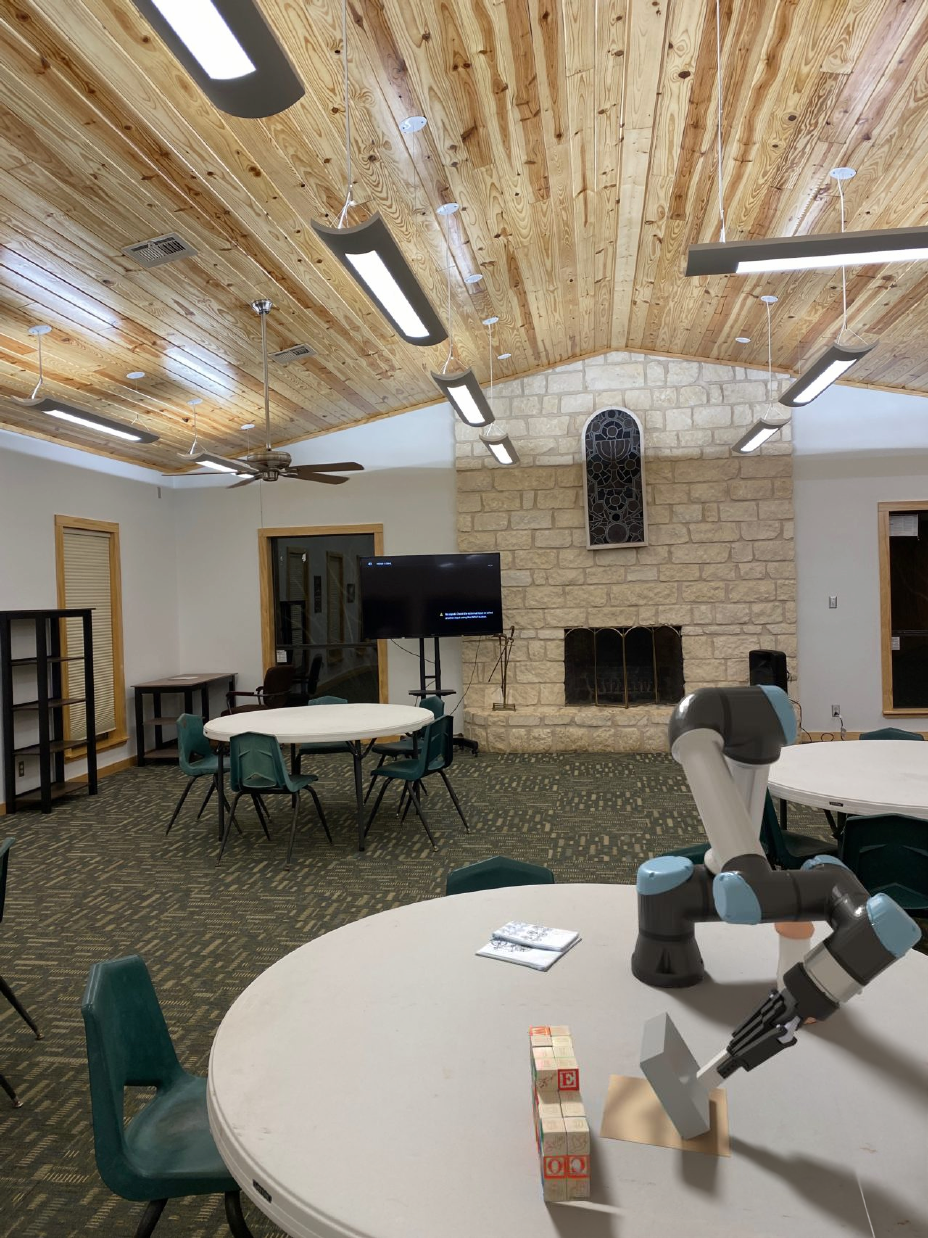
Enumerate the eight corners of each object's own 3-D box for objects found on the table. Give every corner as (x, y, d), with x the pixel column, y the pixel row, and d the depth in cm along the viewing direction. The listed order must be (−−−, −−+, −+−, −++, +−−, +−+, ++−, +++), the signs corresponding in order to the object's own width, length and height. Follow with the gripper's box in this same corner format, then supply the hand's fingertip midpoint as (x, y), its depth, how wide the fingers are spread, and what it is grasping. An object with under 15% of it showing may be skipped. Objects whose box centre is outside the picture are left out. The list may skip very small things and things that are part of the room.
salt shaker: (818, 1008, 150) (815, 908, 150) (817, 1027, 143) (814, 922, 143) (777, 1002, 153) (774, 903, 153) (774, 1019, 146) (771, 916, 146)
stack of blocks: (591, 1203, 102) (588, 1108, 102) (543, 1204, 102) (540, 1109, 102) (571, 1102, 124) (568, 1023, 124) (531, 1103, 124) (528, 1024, 124)
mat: (726, 1093, 124) (725, 1089, 124) (730, 1161, 109) (729, 1157, 109) (611, 1078, 130) (610, 1074, 130) (599, 1140, 114) (599, 1136, 114)
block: (708, 1082, 123) (666, 1011, 125) (709, 1130, 112) (663, 1052, 113) (683, 1092, 124) (642, 1023, 126) (682, 1142, 113) (636, 1064, 115)
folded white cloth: (582, 941, 186) (582, 931, 186) (544, 975, 169) (544, 965, 169) (512, 926, 196) (511, 917, 196) (469, 957, 179) (469, 947, 179)
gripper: (851, 1026, 106) (724, 1130, 111) (834, 982, 118) (721, 1078, 123) (807, 982, 107) (684, 1088, 112) (795, 943, 120) (685, 1040, 125)
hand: (703, 1082), depth 118 cm, fingers closed
